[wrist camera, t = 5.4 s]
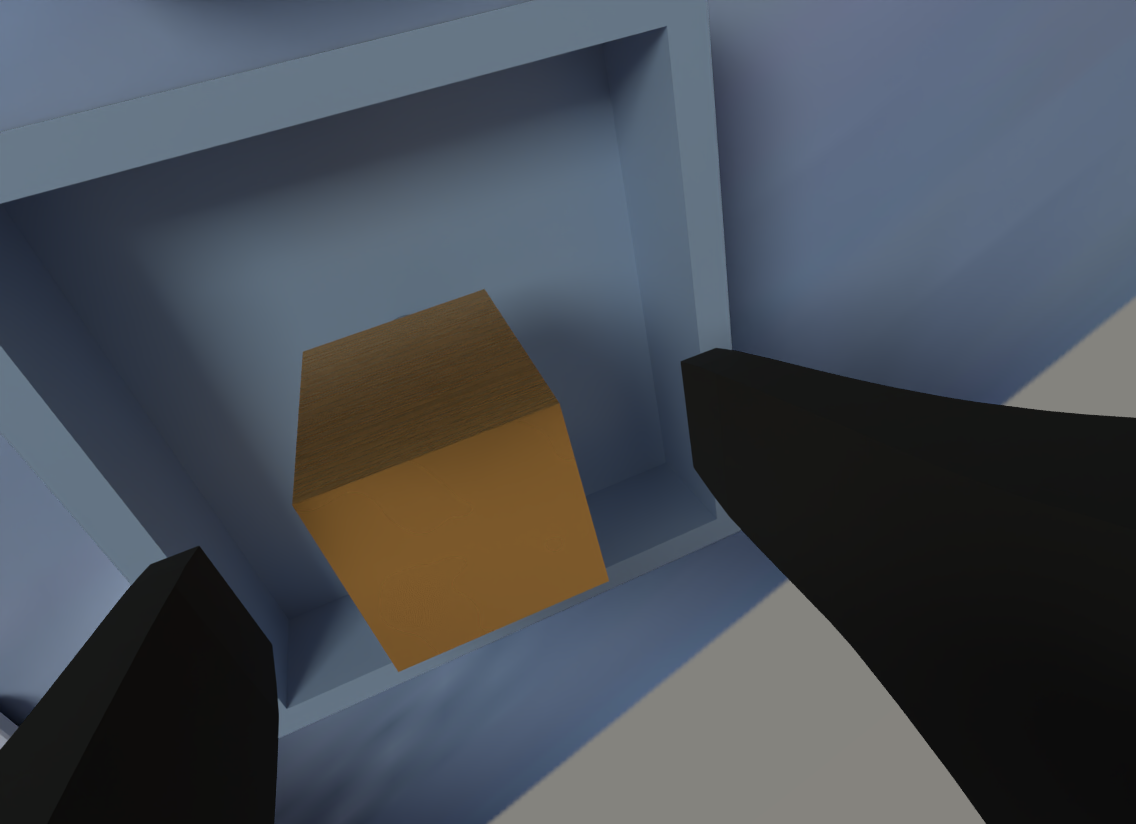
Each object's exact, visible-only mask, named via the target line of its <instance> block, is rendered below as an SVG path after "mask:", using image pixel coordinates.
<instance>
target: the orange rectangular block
mask: <svg viewBox="0 0 1136 824" xmlns="http://www.w3.org/2000/svg"><path fill="white" fill-rule="evenodd" d="M292 506H293V507H294V509H295V511H296V512H297V514H298V515H299V517H300V518H301V520H302V522H303V523H304V525H305V526H306V528H307V529H308V531H309V533H310V534H311V536H312V537H313V539H314V540H315V542H316V544H317V545H318V547H319V548H320V550H321V551H322V553H323V554H324V556H325V558H326V559H327V561H328V562H329V564H330V565H331V567H332V569H333V570H334V572H335V573H336V575H337V576H338V578H339V580H340V581H341V583H342V584H343V586H344V587H345V589H346V591H347V592H348V594H349V595H350V597H351V598H352V600H353V602H354V603H355V605H356V606H357V608H358V609H359V611H360V613H361V614H362V616H363V617H364V619H365V620H366V622H367V624H368V625H369V627H370V628H371V630H372V631H373V633H374V635H375V636H376V638H377V639H378V641H379V642H380V644H381V646H382V647H383V649H384V650H385V652H386V653H387V655H388V657H389V658H390V660H391V661H392V663H393V664H394V666H395V668H396V669H397V671H398V672H400V671H402V670H405V669H407V668H409V667H411V666H414V665H416V664H418V663H421V662H423V661H425V660H428V659H430V658H432V657H435V656H437V655H439V654H442V653H444V652H446V651H448V650H451V649H453V648H455V647H458V646H460V645H462V644H465V643H467V642H469V641H472V640H474V639H476V638H479V637H481V636H483V635H485V634H488V633H490V632H492V631H495V630H497V629H499V628H502V627H504V626H506V625H509V624H511V623H513V622H516V621H518V620H520V619H523V618H525V617H527V616H529V615H532V614H534V613H536V612H539V611H541V610H543V609H546V608H548V607H550V606H553V605H555V604H557V603H560V602H562V601H564V600H566V599H569V598H571V597H573V596H576V595H578V594H580V593H583V592H585V591H587V590H590V589H592V588H594V587H597V586H599V585H601V584H603V583H606V582H608V581H609V579H608V575H607V571H606V568H605V564H604V561H603V557H602V553H601V550H600V546H599V543H598V539H597V536H596V532H595V528H594V525H593V521H592V518H591V514H590V511H589V507H588V503H587V500H586V496H585V493H584V489H583V485H582V482H581V478H580V475H579V471H578V468H577V464H576V460H575V457H574V453H573V450H572V446H571V443H570V439H569V435H568V432H567V428H566V425H565V421H564V418H563V414H562V410H561V407H560V403H559V402H558V400H557V399H556V397H555V396H554V394H553V393H552V391H551V390H550V388H549V386H548V385H547V383H546V382H545V380H544V379H543V377H542V376H541V374H540V373H539V371H538V370H537V368H536V367H535V365H534V364H533V362H532V361H531V359H530V358H529V356H528V354H527V353H526V351H525V350H524V348H523V347H522V345H521V344H520V342H519V341H518V339H517V338H516V336H515V335H514V333H513V332H512V330H511V329H510V327H509V326H508V324H507V322H506V321H505V319H504V318H503V316H502V315H501V313H500V312H499V310H498V309H497V307H496V306H495V304H494V303H493V301H492V300H491V298H490V297H489V295H488V294H487V292H486V290H485V289H483V290H480V291H477V292H474V293H471V294H468V295H465V296H463V297H460V298H457V299H454V300H451V301H448V302H445V303H442V304H439V305H436V306H434V307H431V308H428V309H425V310H422V311H419V312H416V313H413V314H408V315H403V316H400V317H397V318H396V319H394V320H392V321H390V322H387V323H384V324H381V325H379V326H376V327H373V328H370V329H367V330H364V331H361V332H358V333H355V334H353V335H350V336H347V337H344V338H341V339H338V340H335V341H332V342H329V343H326V344H324V345H321V346H318V347H315V348H312V349H309V350H306V351H303V356H302V370H301V385H300V399H299V413H298V428H297V442H296V457H295V471H294V485H293V500H292Z"/></svg>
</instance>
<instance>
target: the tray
mask: <svg viewBox="0 0 1136 824" xmlns="http://www.w3.org/2000/svg"><path fill="white" fill-rule="evenodd" d="M483 289H485V290H486V292H487V294H488V295H489V297H490V298H491V300H492V301H493V303H494V304H495V306H496V307H497V309H498V310H499V312H500V313H501V315H502V316H503V318H504V319H505V321H506V322H507V324H508V326H509V327H510V329H511V330H512V332H513V333H514V335H515V336H516V338H517V339H518V341H519V342H520V344H521V345H522V347H523V348H524V350H525V351H526V353H527V354H528V356H529V358H530V359H531V361H532V362H533V364H534V365H535V367H536V368H537V370H538V371H539V373H540V374H541V376H542V377H543V379H544V380H545V382H546V383H547V385H548V386H549V388H550V390H551V391H552V393H553V394H554V396H555V397H556V399H557V400H558V402H559V403H560V407H561V410H562V414H563V418H564V421H565V425H566V428H567V432H568V435H569V439H570V443H571V446H572V450H573V453H574V457H575V460H576V464H577V468H578V471H579V475H580V478H581V482H582V485H583V489H584V493H585V496H586V500H587V503H588V507H589V511H590V514H591V518H592V521H593V525H594V528H595V532H596V536H597V539H598V543H599V546H600V550H601V553H602V557H603V561H604V564H605V568H606V571H607V575H608V579H609V581H608V582H606V583H603V584H601V585H599V586H597V587H594V588H592V589H590V590H587V591H585V592H583V593H580V594H578V595H576V596H573V597H571V598H569V599H566V600H564V601H562V602H560V603H557V604H555V605H553V606H550V607H548V608H546V609H543V610H541V611H539V612H536V613H534V614H532V615H529V616H527V617H525V618H523V619H520V620H518V621H516V622H513V623H511V624H509V625H506V626H504V627H502V628H499V629H497V630H495V631H492V632H490V633H488V634H485V635H483V636H481V637H479V638H476V639H474V640H472V641H469V642H467V643H465V644H462V645H460V646H458V647H455V648H453V649H451V650H448V651H446V652H444V653H442V654H439V655H437V656H435V657H432V658H430V659H428V660H425V661H423V662H421V663H418V664H416V665H414V666H411V667H409V668H407V669H405V670H402V671H400V672H398V671H397V669H396V668H395V666H394V664H393V663H392V661H391V660H390V658H389V657H388V655H387V653H386V652H385V650H384V649H383V647H382V646H381V644H380V642H379V641H378V639H377V638H376V636H375V635H374V633H373V631H372V630H371V628H370V627H369V625H368V624H367V622H366V620H365V619H364V617H363V616H362V614H361V613H360V611H359V609H358V608H357V606H356V605H355V603H354V602H353V600H352V598H351V597H350V595H349V594H348V592H347V591H346V589H345V587H344V586H343V584H342V583H341V581H340V580H339V578H338V576H337V575H336V573H335V572H334V570H333V569H332V567H331V565H330V564H329V562H328V561H327V559H326V558H325V556H324V554H323V553H322V551H321V550H320V548H319V547H318V545H317V544H316V542H315V540H314V539H313V537H312V536H311V534H310V533H309V531H308V529H307V528H306V526H305V525H304V523H303V522H302V520H301V518H300V517H299V515H298V514H297V512H296V511H295V509H294V507H293V506H292V500H293V485H294V471H295V457H296V442H297V428H298V413H299V399H300V385H301V370H302V356H303V351H306V350H309V349H312V348H315V347H318V346H321V345H324V344H326V343H329V342H332V341H335V340H338V339H341V338H344V337H347V336H350V335H353V334H355V333H358V332H361V331H364V330H367V329H370V328H373V327H376V326H379V325H381V324H384V323H387V322H390V321H392V320H394V319H396V318H397V317H400V316H403V315H408V314H413V313H416V312H419V311H422V310H425V309H428V308H431V307H434V306H436V305H439V304H442V303H445V302H448V301H451V300H454V299H457V298H460V297H463V296H465V295H468V294H471V293H474V292H477V291H480V290H483ZM714 348H722V349H728V350H732V342H731V328H730V313H729V299H728V285H727V271H726V256H725V242H724V228H723V213H722V199H721V185H720V171H719V156H718V142H717V128H716V113H715V99H714V85H713V71H712V56H711V42H710V28H709V13H708V0H533V1H529V2H525V3H521V4H517V5H513V6H509V7H505V8H501V9H497V10H493V11H489V12H485V13H481V14H477V15H473V16H468V17H464V18H460V19H456V20H452V21H448V22H444V23H440V24H436V25H432V26H428V27H424V28H420V29H416V30H412V31H408V32H404V33H400V34H396V35H391V36H387V37H383V38H379V39H375V40H371V41H367V42H363V43H359V44H355V45H351V46H347V47H343V48H339V49H335V50H331V51H327V52H323V53H318V54H314V55H310V56H306V57H302V58H298V59H294V60H290V61H286V62H282V63H278V64H274V65H270V66H266V67H262V68H258V69H254V70H250V71H246V72H241V73H237V74H233V75H229V76H225V77H221V78H217V79H213V80H209V81H205V82H201V83H197V84H193V85H189V86H185V87H181V88H177V89H173V90H169V91H164V92H160V93H156V94H152V95H148V96H144V97H140V98H136V99H132V100H128V101H124V102H120V103H116V104H112V105H108V106H104V107H100V108H96V109H92V110H87V111H83V112H79V113H75V114H71V115H67V116H63V117H59V118H55V119H51V120H47V121H43V122H39V123H35V124H31V125H27V126H23V127H19V128H15V129H10V130H6V131H2V132H0V433H1V434H2V435H3V437H4V438H5V439H6V440H7V441H8V442H9V443H10V445H11V446H12V447H13V448H14V449H15V450H16V452H17V453H18V454H19V455H20V456H21V457H22V459H23V460H24V461H25V462H26V463H27V464H28V466H29V467H30V468H31V469H32V470H33V471H34V473H35V474H36V475H37V476H38V477H39V478H40V479H41V481H42V482H43V483H44V484H45V485H46V486H47V488H48V489H49V490H50V491H51V492H52V493H53V495H54V496H55V497H56V498H57V499H58V500H59V502H60V503H61V504H62V505H63V506H64V507H65V508H66V510H67V511H68V512H69V513H70V514H71V515H72V517H73V518H74V519H75V520H76V521H77V522H78V524H79V525H80V526H81V527H82V528H83V529H84V531H85V532H86V533H87V534H88V535H89V536H90V538H91V539H92V540H93V541H94V542H95V543H96V544H97V546H98V547H99V548H100V549H101V550H102V551H103V553H104V554H105V555H106V556H107V557H108V558H109V560H110V561H111V562H112V563H113V564H114V565H115V567H116V568H117V569H118V570H119V571H120V572H121V574H122V575H123V576H124V577H125V578H126V579H127V580H128V582H129V583H130V584H131V585H132V584H133V583H134V582H135V580H136V579H137V578H138V577H139V576H140V575H141V574H142V573H143V571H144V570H145V569H146V568H147V567H148V566H149V565H150V564H152V563H155V562H157V561H160V560H163V559H165V558H168V557H170V556H173V555H176V554H178V553H181V552H184V551H186V550H189V549H191V548H194V547H197V546H200V547H201V548H202V550H203V551H204V552H205V554H206V555H207V557H208V558H209V559H210V561H211V562H212V563H213V565H214V566H215V567H216V569H217V570H218V571H219V573H220V574H221V576H222V577H223V578H224V580H225V581H226V582H227V584H228V585H229V586H230V588H231V589H232V590H233V592H234V593H235V595H236V596H237V597H238V599H239V600H240V601H241V603H242V604H243V605H244V607H245V608H246V609H247V611H248V612H249V614H250V615H251V616H252V618H253V619H254V620H255V622H256V623H257V624H258V626H259V627H260V628H261V630H262V631H263V633H264V634H265V635H266V637H267V638H268V639H269V641H270V642H271V643H272V646H273V655H274V664H275V673H276V682H277V695H278V708H279V734H278V739H279V738H281V737H283V736H285V735H287V734H290V733H292V732H294V731H296V730H299V729H301V728H303V727H305V726H307V725H310V724H312V723H314V722H316V721H319V720H321V719H323V718H325V717H327V716H330V715H332V714H334V713H336V712H339V711H341V710H343V709H345V708H347V707H350V706H352V705H354V704H356V703H359V702H361V701H363V700H365V699H367V698H370V697H372V696H374V695H376V694H379V693H381V692H383V691H385V690H387V689H390V688H392V687H394V686H396V685H399V684H401V683H403V682H405V681H407V680H410V679H412V678H414V677H416V676H419V675H421V674H423V673H425V672H427V671H430V670H432V669H434V668H436V667H439V666H441V665H443V664H445V663H447V662H450V661H452V660H454V659H456V658H459V657H461V656H463V655H465V654H467V653H470V652H472V651H474V650H476V649H479V648H481V647H483V646H485V645H487V644H490V643H492V642H494V641H496V640H499V639H501V638H503V637H505V636H507V635H510V634H512V633H514V632H516V631H519V630H521V629H523V628H525V627H527V626H530V625H532V624H534V623H536V622H539V621H541V620H543V619H545V618H547V617H550V616H552V615H554V614H556V613H559V612H561V611H563V610H565V609H567V608H570V607H572V606H574V605H576V604H579V603H581V602H583V601H585V600H587V599H590V598H592V597H594V596H596V595H599V594H601V593H603V592H605V591H607V590H610V589H612V588H614V587H616V586H619V585H621V584H623V583H625V582H627V581H630V580H632V579H634V578H636V577H639V576H641V575H643V574H645V573H647V572H650V571H652V570H654V569H656V568H659V567H661V566H663V565H665V564H667V563H670V562H672V561H674V560H676V559H679V558H681V557H683V556H685V555H687V554H690V553H692V552H694V551H696V550H699V549H701V548H703V547H705V546H707V545H710V544H712V543H714V542H716V541H719V540H721V539H723V538H725V537H727V536H730V535H732V534H734V533H736V532H739V531H741V529H740V528H739V527H738V526H737V525H736V523H735V522H734V521H733V520H732V519H731V518H730V517H729V516H728V515H727V513H726V512H725V511H724V509H723V508H722V507H721V505H720V504H719V503H718V501H717V500H716V499H715V497H714V496H713V495H712V493H711V492H710V490H709V489H708V488H707V486H706V485H705V483H704V482H703V480H702V479H701V478H700V476H699V475H698V473H697V472H696V470H695V469H694V468H693V461H692V452H691V444H690V436H689V428H688V420H687V412H686V403H685V395H684V387H683V379H682V371H681V362H680V361H683V360H685V359H688V358H690V357H693V356H696V355H698V354H701V353H703V352H706V351H709V350H711V349H714Z"/></svg>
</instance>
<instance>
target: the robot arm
mask: <svg viewBox="0 0 1136 824" xmlns="http://www.w3.org/2000/svg"><path fill="white" fill-rule="evenodd" d="M680 362H681V371H682V379H683V387H684V395H685V403H686V412H687V420H688V428H689V436H690V444H691V452H692V461H693V468H694V469H695V470H696V472H697V473H698V475H699V476H700V478H701V479H702V480H703V482H704V483H705V485H706V486H707V488H708V489H709V490H710V492H711V493H712V495H713V496H714V497H715V499H716V500H717V501H718V503H719V504H720V505H721V507H722V508H723V509H724V511H725V512H726V513H727V515H728V516H729V517H730V518H731V519H732V520H733V521H734V522H735V523H736V525H737V526H738V527H739V528H740V529H741V530H742V531H743V532H744V533H745V534H746V535H747V536H748V537H749V538H750V539H751V540H752V541H753V543H754V544H755V545H756V546H757V547H758V548H759V549H760V550H761V551H762V552H763V553H764V554H765V555H766V556H767V557H768V558H769V559H770V560H771V561H772V562H773V563H774V564H775V565H776V567H777V568H778V569H779V570H780V571H781V572H782V573H783V574H784V575H785V576H786V577H787V578H788V579H789V580H790V581H791V582H792V583H793V584H794V585H795V586H796V587H797V588H798V589H799V590H800V591H801V592H802V593H803V594H804V595H805V597H806V598H807V599H808V600H809V601H810V602H811V603H812V604H813V605H814V606H815V607H816V608H817V609H818V610H819V611H820V612H821V613H822V614H823V615H824V616H825V617H826V618H827V619H828V620H829V621H830V622H831V623H832V625H833V626H834V627H835V628H836V629H837V630H838V631H839V632H840V633H841V635H842V636H843V637H844V638H845V639H846V640H847V641H848V643H849V644H850V645H851V646H852V647H853V648H854V650H855V651H856V652H857V653H858V655H859V656H860V657H861V658H862V660H863V661H864V662H865V663H866V665H867V666H868V667H869V668H870V670H871V671H872V672H873V673H874V675H875V676H876V677H877V679H878V680H879V681H880V682H881V684H882V685H883V686H884V687H885V688H886V690H887V691H888V692H889V694H890V695H891V696H892V697H893V699H894V700H895V701H896V702H897V704H898V705H899V706H900V708H901V709H902V710H903V712H904V713H905V714H906V715H907V717H908V718H909V719H910V721H911V722H912V723H913V725H914V726H915V727H916V729H917V730H918V731H919V733H920V734H921V735H922V737H923V738H924V739H925V741H926V742H927V743H928V745H929V746H930V747H931V749H932V750H933V751H934V753H935V754H936V755H937V757H938V758H939V759H940V761H941V762H942V763H943V764H944V766H945V767H946V769H947V770H948V771H949V772H950V774H951V775H952V777H953V778H954V779H955V781H956V782H957V783H958V785H959V786H960V788H961V789H962V791H963V792H964V793H965V795H966V796H967V798H968V799H969V800H970V802H971V803H972V805H973V806H974V807H975V809H976V810H977V812H978V813H979V814H980V816H981V817H982V819H983V820H984V821H985V823H986V824H1136V418H1131V417H1115V416H1099V415H1086V414H1075V413H1064V412H1052V411H1043V410H1035V409H1027V408H1019V407H1012V406H1004V405H996V404H988V403H980V402H973V401H967V400H960V399H954V398H948V397H942V396H937V395H931V394H926V393H921V392H915V391H910V390H905V389H899V388H894V387H889V386H885V385H880V384H875V383H870V382H866V381H861V380H857V379H852V378H848V377H844V376H840V375H835V374H831V373H827V372H823V371H819V370H814V369H810V368H806V367H802V366H798V365H794V364H790V363H786V362H782V361H778V360H774V359H770V358H765V357H761V356H757V355H753V354H748V353H744V352H739V351H734V350H728V349H722V348H714V349H711V350H709V351H706V352H703V353H701V354H698V355H696V356H693V357H690V358H688V359H685V360H683V361H680ZM278 734H279V708H278V695H277V682H276V673H275V664H274V655H273V646H272V643H271V642H270V641H269V639H268V638H267V637H266V635H265V634H264V633H263V631H262V630H261V628H260V627H259V626H258V624H257V623H256V622H255V620H254V619H253V618H252V616H251V615H250V614H249V612H248V611H247V609H246V608H245V607H244V605H243V604H242V603H241V601H240V600H239V599H238V597H237V596H236V595H235V593H234V592H233V590H232V589H231V588H230V586H229V585H228V584H227V582H226V581H225V580H224V578H223V577H222V576H221V574H220V573H219V571H218V570H217V569H216V567H215V566H214V565H213V563H212V562H211V561H210V559H209V558H208V557H207V555H206V554H205V552H204V551H203V550H202V548H201V547H200V546H197V547H194V548H191V549H189V550H186V551H184V552H181V553H178V554H176V555H173V556H170V557H168V558H165V559H163V560H160V561H157V562H155V563H152V564H150V565H149V566H148V567H147V568H146V569H145V570H144V571H143V573H142V574H141V575H140V576H139V577H138V578H137V579H136V580H135V582H134V583H133V584H132V585H131V586H130V587H129V589H128V590H127V591H126V592H125V594H124V595H123V596H122V597H121V598H120V600H119V601H118V602H117V603H116V605H115V606H114V607H113V608H112V610H111V611H110V612H109V614H108V615H107V616H106V617H105V619H104V620H103V621H102V622H101V624H100V625H99V626H98V628H97V629H96V630H95V631H94V633H93V634H92V635H91V637H90V638H89V639H88V640H87V642H86V643H85V644H84V646H83V647H82V648H81V649H80V651H79V652H78V653H77V654H76V656H75V657H74V658H73V660H72V661H71V662H70V663H69V665H68V666H67V667H66V668H65V670H64V671H63V672H62V674H61V675H60V676H59V677H58V679H57V680H56V681H55V682H54V684H53V685H52V686H51V688H50V689H49V690H48V691H47V693H46V694H45V695H44V696H43V698H42V699H41V700H40V702H39V703H38V704H37V705H36V707H35V708H34V709H33V710H32V712H31V713H30V714H29V715H28V717H27V718H26V719H25V720H24V722H23V723H22V724H21V725H20V726H19V727H18V726H17V725H15V724H14V723H13V722H12V721H11V720H9V719H8V718H7V717H6V716H4V715H3V714H2V713H1V712H0V824H274V817H275V798H276V779H277V757H278Z"/></svg>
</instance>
